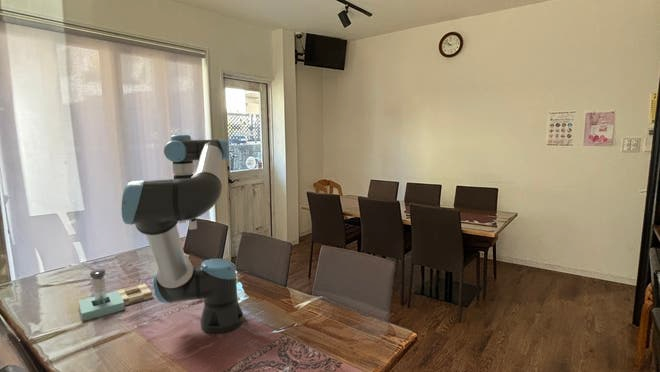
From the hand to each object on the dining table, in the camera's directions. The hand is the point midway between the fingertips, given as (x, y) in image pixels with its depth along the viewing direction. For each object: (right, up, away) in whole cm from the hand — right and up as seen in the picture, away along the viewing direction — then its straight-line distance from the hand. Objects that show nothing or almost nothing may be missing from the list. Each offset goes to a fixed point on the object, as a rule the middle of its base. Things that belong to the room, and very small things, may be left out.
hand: (187, 225), depth 146 cm
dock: (-34, -33, -2) cm, 47 cm away
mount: (-26, -31, +8) cm, 42 cm away
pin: (-34, -33, -2) cm, 47 cm away
